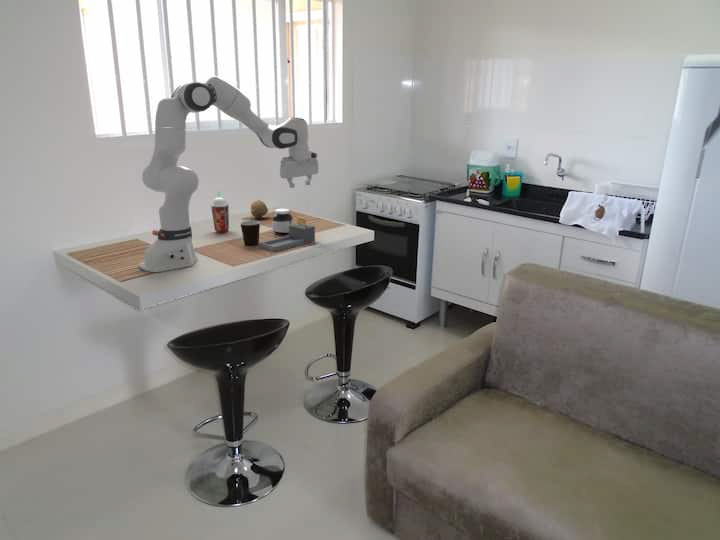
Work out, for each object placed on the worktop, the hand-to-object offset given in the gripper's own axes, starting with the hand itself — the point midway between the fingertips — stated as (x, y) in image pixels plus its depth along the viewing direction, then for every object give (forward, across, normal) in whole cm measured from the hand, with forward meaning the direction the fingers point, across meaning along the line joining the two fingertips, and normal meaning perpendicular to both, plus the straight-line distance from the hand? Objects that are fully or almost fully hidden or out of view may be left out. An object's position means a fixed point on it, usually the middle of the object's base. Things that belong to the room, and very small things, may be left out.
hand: (300, 186), depth 242 cm
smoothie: (+26, -16, +42) cm, 51 cm away
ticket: (+23, 0, 0) cm, 23 cm away
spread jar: (+26, +3, +19) cm, 32 cm away
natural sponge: (+26, +15, +52) cm, 60 cm away
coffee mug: (+26, -19, +13) cm, 34 cm away
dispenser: (+25, -9, 0) cm, 27 cm away
